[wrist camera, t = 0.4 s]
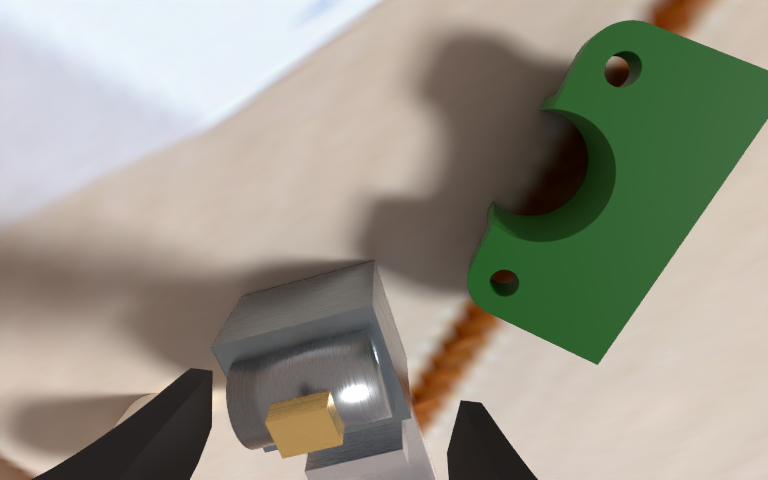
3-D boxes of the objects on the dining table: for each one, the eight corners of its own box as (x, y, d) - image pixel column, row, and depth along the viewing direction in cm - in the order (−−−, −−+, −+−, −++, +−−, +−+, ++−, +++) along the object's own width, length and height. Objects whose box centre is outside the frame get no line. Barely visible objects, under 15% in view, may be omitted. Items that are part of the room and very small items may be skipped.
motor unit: (452, 497, 28) (475, 634, 21) (345, 519, 28) (334, 660, 22) (374, 260, 22) (370, 345, 15) (241, 296, 23) (182, 393, 16)
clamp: (543, 85, 23) (628, -42, 14) (653, 131, 23) (815, 30, 14) (446, 294, 22) (470, 301, 13) (557, 347, 22) (661, 392, 13)
